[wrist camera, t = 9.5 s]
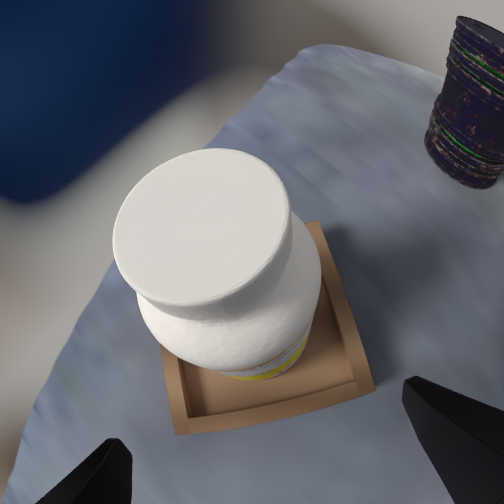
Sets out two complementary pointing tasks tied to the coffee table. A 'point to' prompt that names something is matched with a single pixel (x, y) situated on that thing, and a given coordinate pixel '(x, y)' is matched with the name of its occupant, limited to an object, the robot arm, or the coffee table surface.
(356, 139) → the coffee table surface
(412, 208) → the coffee table surface
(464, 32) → the storage jar
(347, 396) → the walnut tray
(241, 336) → the supplement bottle
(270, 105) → the coffee table surface
